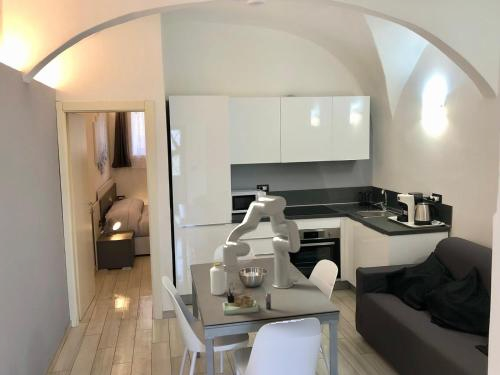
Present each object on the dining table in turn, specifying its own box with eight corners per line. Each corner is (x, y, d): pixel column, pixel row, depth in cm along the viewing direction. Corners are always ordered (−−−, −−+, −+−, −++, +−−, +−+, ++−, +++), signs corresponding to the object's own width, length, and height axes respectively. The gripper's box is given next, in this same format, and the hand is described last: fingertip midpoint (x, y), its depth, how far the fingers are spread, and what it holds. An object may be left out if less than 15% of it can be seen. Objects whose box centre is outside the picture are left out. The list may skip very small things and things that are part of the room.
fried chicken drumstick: (250, 305, 245) (251, 296, 244) (252, 309, 238) (253, 300, 238) (228, 303, 242) (229, 294, 242) (229, 307, 236) (231, 298, 236)
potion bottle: (211, 291, 271) (210, 262, 269) (225, 290, 271) (224, 261, 269) (211, 296, 262) (210, 266, 260) (225, 295, 263) (224, 265, 261)
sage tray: (255, 304, 248) (255, 299, 248) (258, 312, 236) (258, 307, 236) (222, 306, 246) (222, 302, 246) (224, 314, 234) (224, 310, 234)
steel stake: (270, 307, 242) (270, 293, 241) (271, 309, 239) (271, 295, 239) (265, 308, 242) (265, 293, 241) (266, 310, 239) (266, 295, 238)
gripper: (222, 264, 245) (222, 297, 247) (224, 272, 229) (224, 307, 231) (235, 263, 246) (236, 296, 248) (239, 271, 230) (239, 306, 232)
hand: (230, 301), depth 239 cm, fingers closed on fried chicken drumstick, 3 cm apart
